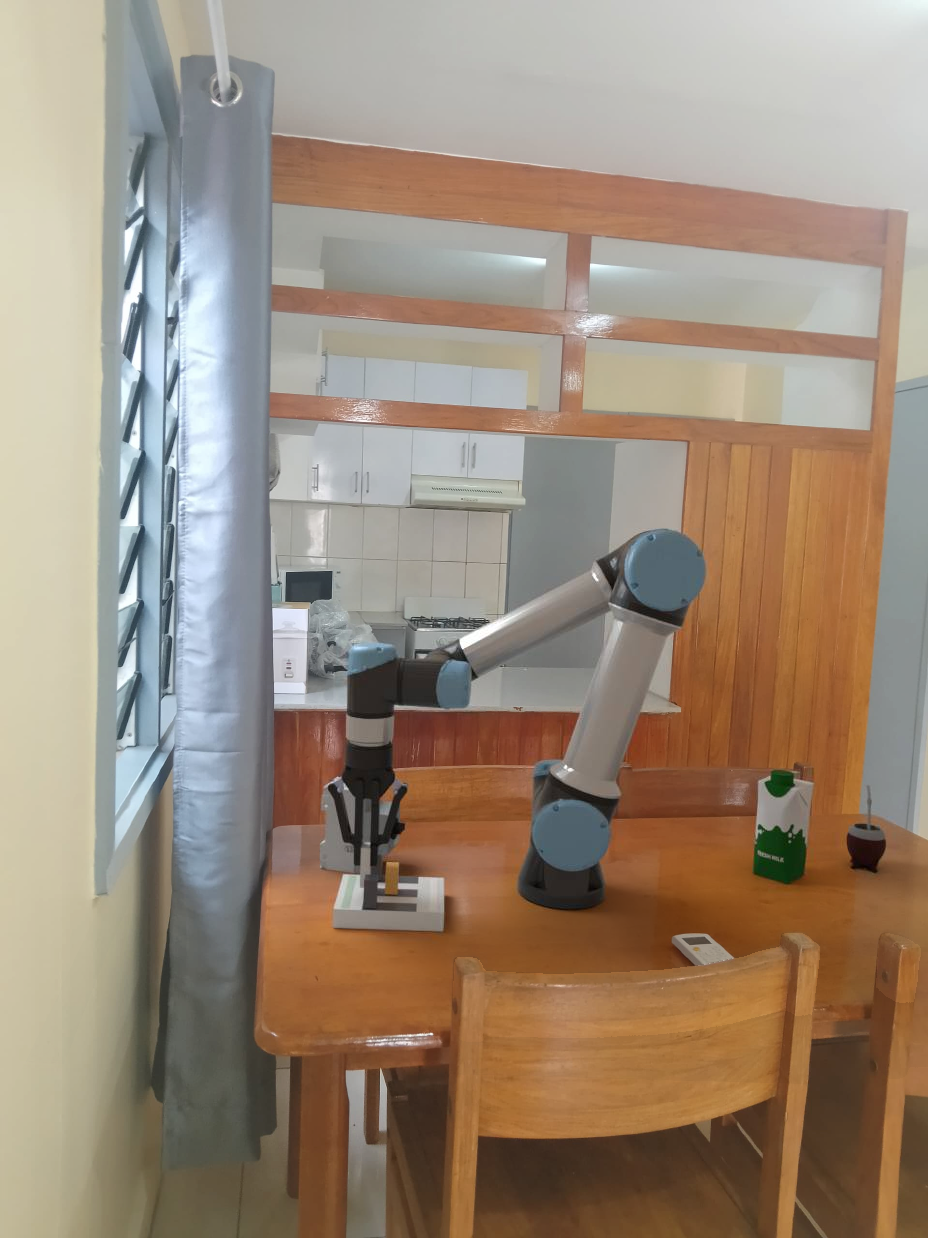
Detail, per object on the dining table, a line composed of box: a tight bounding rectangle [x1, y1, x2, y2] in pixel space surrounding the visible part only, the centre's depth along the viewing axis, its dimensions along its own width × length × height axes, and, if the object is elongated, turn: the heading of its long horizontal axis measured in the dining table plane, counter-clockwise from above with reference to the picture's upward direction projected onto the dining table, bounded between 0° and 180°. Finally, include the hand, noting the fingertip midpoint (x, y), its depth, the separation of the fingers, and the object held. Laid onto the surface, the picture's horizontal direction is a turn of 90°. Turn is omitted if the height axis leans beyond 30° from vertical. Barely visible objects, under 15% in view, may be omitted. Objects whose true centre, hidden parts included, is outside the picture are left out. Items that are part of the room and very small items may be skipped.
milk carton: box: [752, 769, 815, 885], centre depth 167 cm, size 9×9×20 cm
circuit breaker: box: [319, 776, 406, 875], centre depth 162 cm, size 8×14×15 cm, turn 78°
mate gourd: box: [846, 784, 887, 874], centre depth 174 cm, size 8×8×15 cm
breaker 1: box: [363, 874, 378, 908], centre depth 138 cm, size 2×2×4 cm
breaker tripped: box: [385, 861, 400, 895], centre depth 144 cm, size 2×2×4 cm
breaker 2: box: [371, 850, 384, 881], centre depth 149 cm, size 2×2×4 cm
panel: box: [332, 873, 445, 932], centre depth 144 cm, size 17×14×3 cm
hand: (365, 884), depth 143 cm, fingers closed
